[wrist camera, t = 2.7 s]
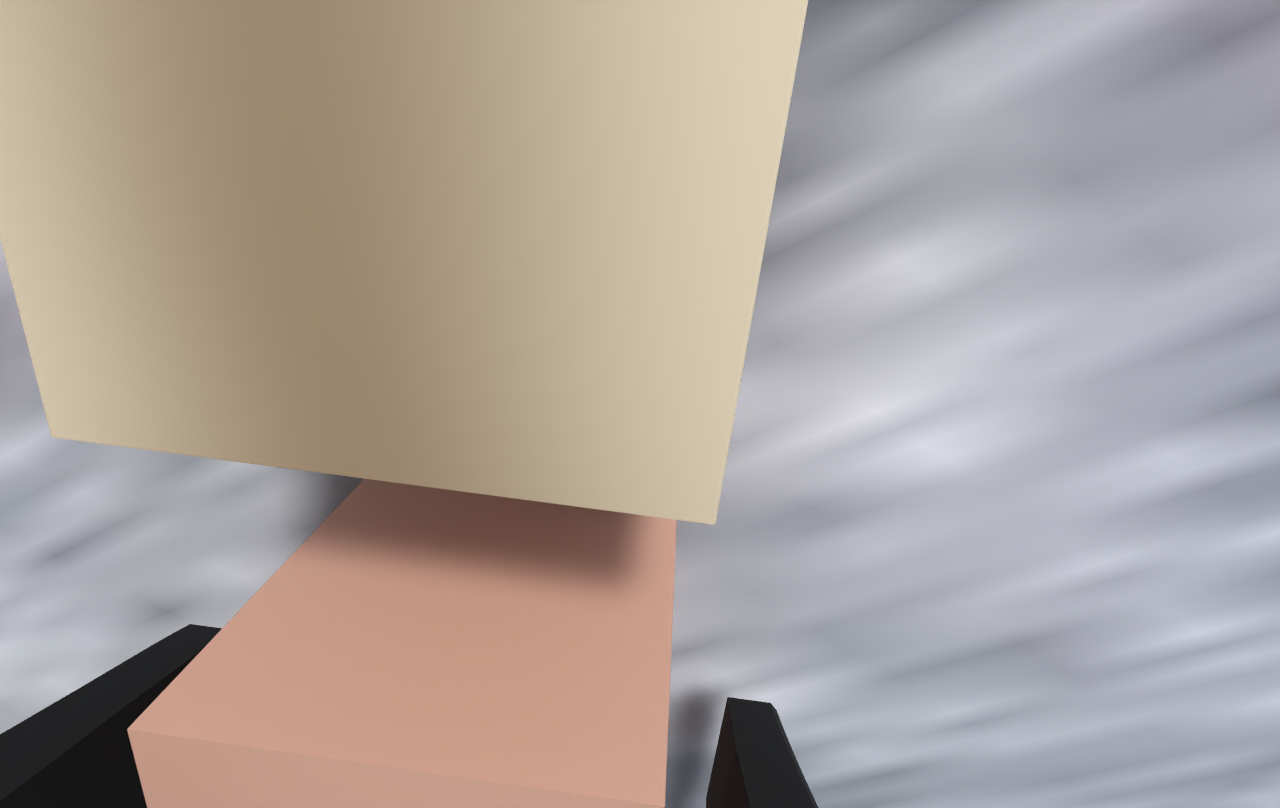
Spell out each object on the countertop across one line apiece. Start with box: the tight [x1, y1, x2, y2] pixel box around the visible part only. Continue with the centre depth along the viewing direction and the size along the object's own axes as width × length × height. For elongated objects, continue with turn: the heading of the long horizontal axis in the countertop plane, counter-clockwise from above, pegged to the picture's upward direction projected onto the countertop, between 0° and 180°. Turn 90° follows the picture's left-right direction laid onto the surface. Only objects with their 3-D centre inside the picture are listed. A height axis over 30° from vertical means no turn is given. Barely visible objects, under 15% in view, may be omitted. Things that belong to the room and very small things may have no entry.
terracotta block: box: [127, 479, 677, 808], centre depth 9 cm, size 5×5×5 cm
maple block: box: [0, 0, 808, 525], centre depth 6 cm, size 5×5×5 cm
